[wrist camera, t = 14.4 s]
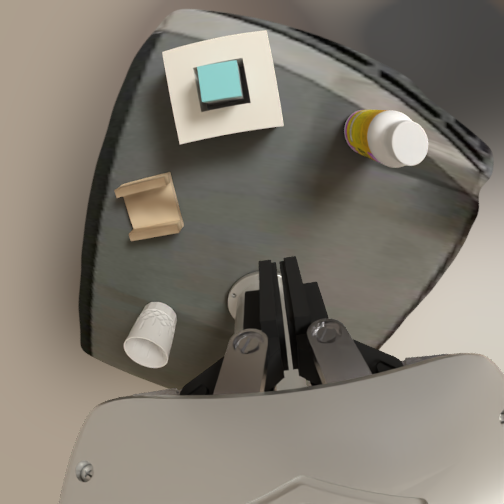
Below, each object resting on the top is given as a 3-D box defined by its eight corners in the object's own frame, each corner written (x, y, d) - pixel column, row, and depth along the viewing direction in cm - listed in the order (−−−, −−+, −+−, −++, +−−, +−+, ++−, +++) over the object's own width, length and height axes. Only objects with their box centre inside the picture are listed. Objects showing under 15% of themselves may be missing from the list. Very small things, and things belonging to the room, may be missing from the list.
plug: (244, 100, 31) (241, 95, 24) (213, 105, 31) (202, 101, 24) (240, 72, 29) (236, 60, 22) (209, 77, 29) (197, 66, 22)
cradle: (183, 225, 40) (179, 233, 38) (138, 233, 41) (131, 241, 38) (170, 171, 36) (163, 176, 34) (123, 184, 37) (114, 189, 34)
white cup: (173, 297, 47) (158, 336, 38) (185, 329, 50) (174, 368, 42) (135, 299, 47) (116, 336, 39) (149, 330, 51) (134, 367, 42)
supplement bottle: (338, 148, 35) (375, 165, 23) (347, 104, 31) (389, 101, 20) (379, 159, 35) (427, 182, 24) (388, 117, 32) (440, 124, 21)
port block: (279, 124, 33) (283, 125, 28) (191, 139, 34) (179, 144, 29) (264, 43, 28) (266, 30, 22) (176, 60, 29) (162, 52, 23)
